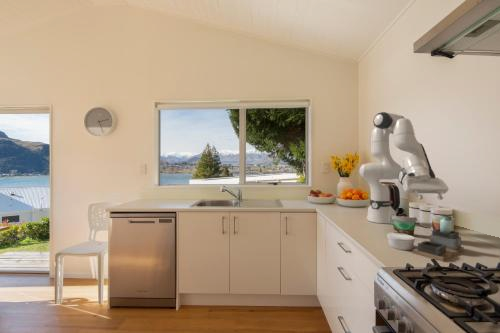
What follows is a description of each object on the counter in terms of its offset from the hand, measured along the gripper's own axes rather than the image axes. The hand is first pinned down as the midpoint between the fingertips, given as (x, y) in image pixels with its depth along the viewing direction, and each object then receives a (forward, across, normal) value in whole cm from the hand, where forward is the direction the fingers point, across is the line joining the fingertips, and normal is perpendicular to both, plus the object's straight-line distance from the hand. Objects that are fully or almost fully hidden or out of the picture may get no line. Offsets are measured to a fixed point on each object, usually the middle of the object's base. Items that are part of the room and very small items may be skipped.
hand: (431, 198), depth 127 cm
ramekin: (+23, +20, -7) cm, 31 cm away
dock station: (+27, +6, -3) cm, 27 cm away
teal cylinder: (+19, 0, -2) cm, 19 cm away
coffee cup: (+14, -6, -16) cm, 23 cm away
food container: (+8, +8, -22) cm, 25 cm away
